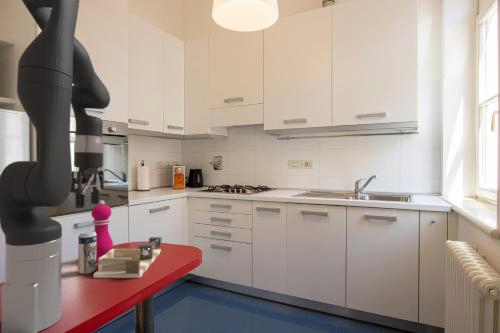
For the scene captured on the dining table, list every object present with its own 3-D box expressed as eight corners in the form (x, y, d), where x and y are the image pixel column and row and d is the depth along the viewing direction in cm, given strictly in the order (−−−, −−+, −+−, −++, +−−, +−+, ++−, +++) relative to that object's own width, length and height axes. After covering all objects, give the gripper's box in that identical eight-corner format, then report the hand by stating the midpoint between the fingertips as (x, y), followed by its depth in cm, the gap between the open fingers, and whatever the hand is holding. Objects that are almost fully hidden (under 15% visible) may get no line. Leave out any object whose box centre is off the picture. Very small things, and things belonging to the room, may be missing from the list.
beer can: (88, 275, 82) (88, 234, 82) (74, 274, 83) (74, 233, 83) (100, 269, 87) (100, 230, 87) (86, 268, 88) (86, 229, 88)
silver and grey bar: (150, 258, 93) (150, 248, 93) (137, 258, 92) (138, 248, 92) (161, 245, 107) (161, 237, 107) (150, 245, 106) (150, 237, 106)
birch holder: (140, 277, 82) (140, 257, 82) (93, 277, 81) (93, 257, 81) (160, 252, 105) (161, 236, 105) (124, 252, 104) (124, 236, 104)
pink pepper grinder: (84, 259, 95) (85, 200, 95) (106, 254, 101) (106, 198, 101) (95, 264, 91) (96, 202, 91) (117, 258, 97) (117, 200, 97)
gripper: (89, 150, 78) (88, 209, 78) (112, 152, 92) (111, 202, 92) (61, 149, 78) (60, 209, 78) (88, 152, 92) (87, 202, 92)
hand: (88, 205), depth 85 cm, fingers open, 8 cm apart
